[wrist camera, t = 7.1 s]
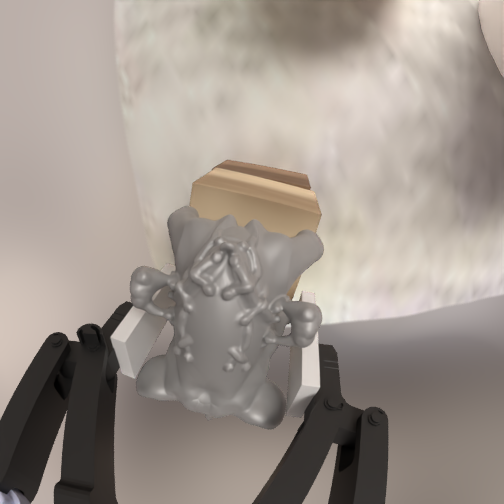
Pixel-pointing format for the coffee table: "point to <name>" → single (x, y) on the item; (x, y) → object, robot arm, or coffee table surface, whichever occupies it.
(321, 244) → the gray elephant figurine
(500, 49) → the canister
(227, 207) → the light wooden block
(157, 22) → the coffee table surface
